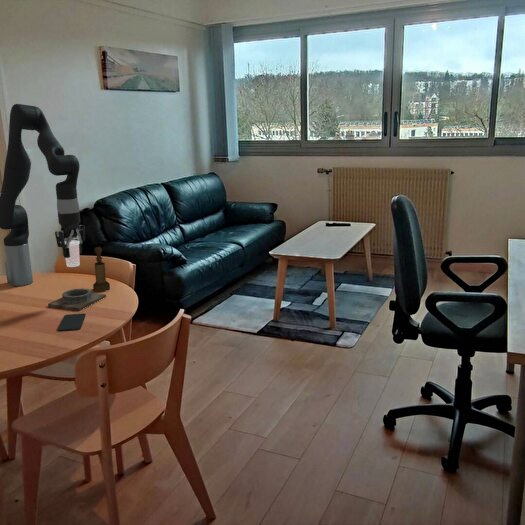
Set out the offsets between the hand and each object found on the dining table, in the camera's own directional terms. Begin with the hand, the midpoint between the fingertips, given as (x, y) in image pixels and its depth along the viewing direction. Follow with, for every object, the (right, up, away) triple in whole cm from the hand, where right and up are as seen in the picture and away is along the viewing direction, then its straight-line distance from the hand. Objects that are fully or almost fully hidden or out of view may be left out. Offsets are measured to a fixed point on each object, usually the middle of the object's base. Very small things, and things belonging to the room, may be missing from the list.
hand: (73, 255), depth 195 cm
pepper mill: (+5, -14, +20) cm, 24 cm away
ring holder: (0, -18, +5) cm, 18 cm away
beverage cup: (0, -4, +1) cm, 4 cm away
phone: (+5, -24, -15) cm, 29 cm away
